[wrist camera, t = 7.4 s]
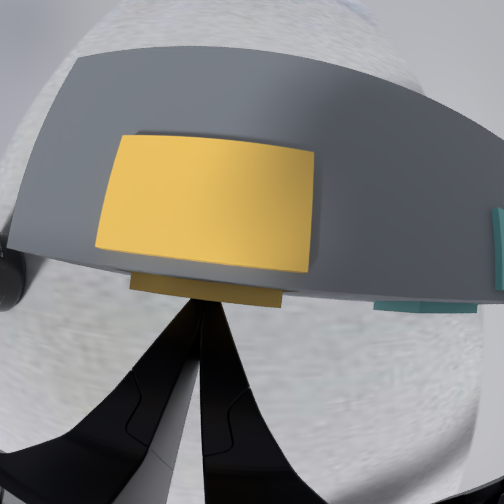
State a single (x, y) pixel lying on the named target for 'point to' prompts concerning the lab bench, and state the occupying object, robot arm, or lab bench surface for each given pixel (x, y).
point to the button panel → (264, 178)
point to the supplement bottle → (10, 274)
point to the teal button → (425, 307)
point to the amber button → (206, 290)
